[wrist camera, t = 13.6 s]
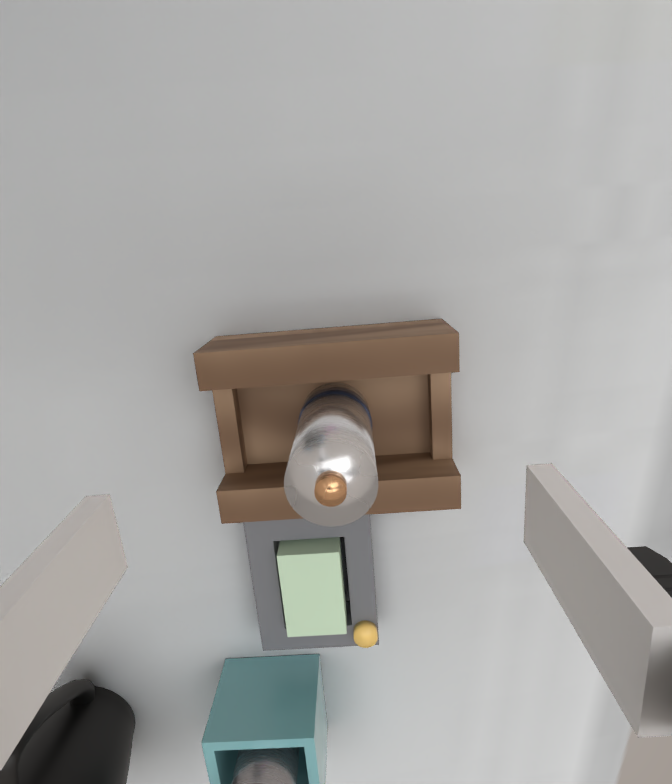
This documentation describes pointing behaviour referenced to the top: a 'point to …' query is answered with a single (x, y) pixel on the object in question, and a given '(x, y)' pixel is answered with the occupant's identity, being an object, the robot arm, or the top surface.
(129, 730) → the mug
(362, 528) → the frame
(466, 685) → the top surface
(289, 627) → the pale green block
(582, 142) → the top surface
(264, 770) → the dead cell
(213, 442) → the top surface
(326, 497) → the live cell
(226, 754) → the teal open bin
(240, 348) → the trough
